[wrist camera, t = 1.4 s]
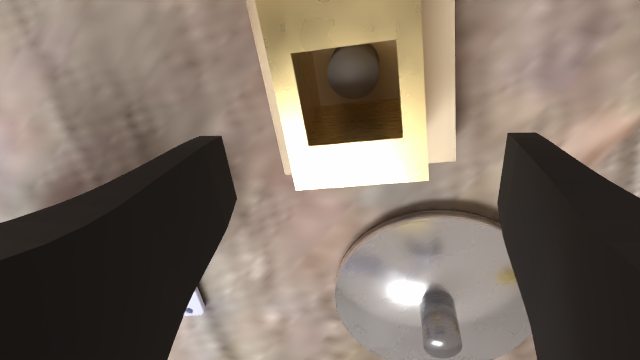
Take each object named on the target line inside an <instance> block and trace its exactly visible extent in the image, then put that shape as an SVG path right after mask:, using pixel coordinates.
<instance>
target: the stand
mask: <svg viewBox="0 0 640 360" xmlns="http://www.w3.org/2000/svg"><path fill="white" fill-rule="evenodd" d="M246 5H247V9H248V13H249V18H250V22H251V27H252V31H253V35H254V40H255V44H256V49H257V53H258V57H259V62H260V66H261V71H262V75H263V79H264V84H265V88H266V93H267V97H268V101H269V106H270V110H271V115H272V119H273V123H274V128H275V132H276V137H277V141H278V145H279V150H280V154H281V159H282V163H283V167H284V172H285V175H289V174H292V169H291V165H290V160H289V155H288V151H287V146H286V142H285V137H284V132H283V128H282V123H281V119H280V114H279V109H278V105H277V100H276V96H275V91H274V86H273V82H272V77H271V73H270V68H269V63H268V59H267V54H266V50H265V45H264V40H263V36H262V31H261V27H260V22H259V17H258V13H257V8H256V4H255V0H246ZM421 12H422V35H423V59H424V82H425V106H426V129H427V153H428V163H437V162H450V161H456V130H455V0H421ZM312 55H313V61H314V67H315V73H316V79H317V85H318V91H319V97H320V103H321V106H326V105H336V104H345V103H354V102H363V101H373V100H382V99H391V98H399V86H398V73H397V59H396V45H395V40H389V41H382V42H374V43H366V44H359V45H351V46H344V47H336V48H329V49H321V50H313V51H312Z"/></svg>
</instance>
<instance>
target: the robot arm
mask: <svg viewBox="0 0 640 360" xmlns="http://www.w3.org/2000/svg"><path fill="white" fill-rule="evenodd" d="M236 200H237V197H236V193H235V189H234V185H233V181H232V177H231V173H230V169H229V165H228V161H227V156H226V152H225V148H224V144H223V140H222V136H199V137H197V138H194V139H192V140H189V141H187V142H185V143H183V144H181V145H179V146H177V147H175V148H173V149H171V150H169V151H168V152H166V153H164V154H162V155H160V156H158V157H156V158H155V159H153V160H151V161H149V162H147V163H145V164H144V165H142V166H140V167H138V168H136V169H134V170H132V171H130V172H128V173H126V174H124V175H122V176H120V177H118V178H116V179H114V180H112V181H110V182H108V183H106V184H104V185H102V186H100V187H98V188H95V189H93V190H91V191H89V192H86V193H84V194H82V195H79V196H77V197H74V198H72V199H69V200H67V201H64V202H62V203H59V204H57V205H54V206H51V207H48V208H45V209H42V210H39V211H36V212H33V213H30V214H27V215H24V216H21V217H18V218H15V219H12V220H9V221H6V222H2V223H0V360H167V359H168V356H169V353H170V351H171V348H172V345H173V342H174V339H175V337H176V334H177V331H178V329H179V326H180V324H181V321H182V318H183V316H191V315H202V314H203V313H204V310H205V305H204V302H203V300H202V297H201V295H200V292H199V290H198V287H197V286H198V284H199V282H200V280H201V278H202V276H203V274H204V272H205V270H206V268H207V266H208V265H209V263H210V261H211V259H212V257H213V255H214V253H215V251H216V249H217V247H218V245H219V243H220V241H221V239H222V237H223V235H224V233H225V231H226V229H227V227H228V224H229V221H230V218H231V216H232V213H233V209H234V206H235V203H236ZM498 210H499V217H500V223H501V229H502V235H503V239H504V243H505V246H506V249H507V253H508V256H509V259H510V262H511V265H512V268H513V272H514V275H515V278H516V281H517V284H518V287H519V290H520V293H521V297H522V300H523V303H524V306H525V309H526V312H527V316H528V319H529V323H530V327H531V331H532V335H533V340H534V345H535V350H536V355H537V360H640V198H639V197H637V196H635V195H633V194H631V193H630V192H628V191H626V190H624V189H623V188H621V187H619V186H618V185H616V184H614V183H612V182H611V181H609V180H607V179H606V178H604V177H603V176H601V175H599V174H598V173H596V172H595V171H593V170H591V169H590V168H588V167H587V166H585V165H584V164H582V163H581V162H579V161H578V160H576V159H575V158H573V157H572V156H571V155H569V154H568V153H566V152H565V151H563V150H562V149H560V148H559V147H558V146H556V145H555V144H553V143H552V142H550V141H549V140H547V139H546V138H544V137H543V136H541V135H539V134H537V133H508V134H507V141H506V148H505V155H504V162H503V169H502V176H501V183H500V189H499V196H498ZM190 308H191V309H190Z"/></svg>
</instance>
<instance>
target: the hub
mask: <svg viewBox="0 0 640 360" xmlns="http://www.w3.org/2000/svg"><path fill="white" fill-rule="evenodd" d="M335 302H336V308H337V312H338V315H339V317H340V319H341V321H342V324H343V325H344V327H345V328H346V329H347V331H348V332H349V333H350V334H351V336H352V337H353V338H354V339H355V340H356V341H357V342H359V343H360V344H361V345H362V346H363V347H365V348H366V349H368V350H369V351H371V352H372V353H374V354H376V355H378V356H380V357H382V358H384V359H387V360H492V359H495V358H497V357H499V356H501V355H503V354H505V353H507V352H509V351H510V350H512V349H513V348H515V347H516V346H518V345H519V344H520V343H521V342H522V341H524V340H525V339H526V338H527V337H528V336H529V335H530V334H531V332H532V331H531V327H530V323H529V319H528V316H527V312H526V309H525V306H524V303H523V300H522V297H521V293H520V290H519V287H518V284H517V281H516V278H515V275H514V272H513V268H512V265H511V262H510V259H509V256H508V253H507V249H506V246H505V243H504V239H503V235H502V229H501V224H500V223H498V222H496V221H493V220H491V219H489V218H486V217H483V216H480V215H477V214H473V213H468V212H463V211H454V210H427V211H418V212H413V213H409V214H404V215H401V216H398V217H395V218H392V219H389V220H387V221H385V222H383V223H381V224H379V225H377V226H375V227H374V228H372V229H370V230H369V231H367V232H366V233H365V234H363V235H362V236H361V237H360V238H359V239H357V241H356V242H355V243H354V244H353V245H352V246H351V247H350V248H349V250H348V251H347V253H346V254H345V256H344V258H343V260H342V262H341V264H340V266H339V270H338V274H337V281H336V290H335Z"/></svg>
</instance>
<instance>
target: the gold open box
mask: <svg viewBox="0 0 640 360" xmlns="http://www.w3.org/2000/svg"><path fill="white" fill-rule="evenodd" d="M255 4H256V8H257V13H258V17H259V22H260V27H261V31H262V36H263V40H264V45H265V50H266V54H267V59H268V63H269V68H270V73H271V77H272V82H273V86H274V91H275V96H276V100H277V105H278V109H279V114H280V119H281V123H282V128H283V132H284V137H285V142H286V146H287V151H288V155H289V160H290V165H291V169H292V174H293V178H294V183H295V188H296V190H306V189H319V188H333V187H346V186H360V185H373V184H387V183H400V182H414V181H427V180H429V176H428V153H427V129H426V106H425V82H424V59H423V35H422V12H421V0H255ZM389 40H395V45H396V59H397V73H398V86H399V98H391V99H382V100H373V101H363V102H354V103H345V104H336V105H326V106H321V103H320V97H319V91H318V85H317V79H316V73H315V67H314V61H313V55H312V51H313V50H321V49H329V48H336V47H344V46H351V45H359V44H366V43H374V42H382V41H389Z"/></svg>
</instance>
